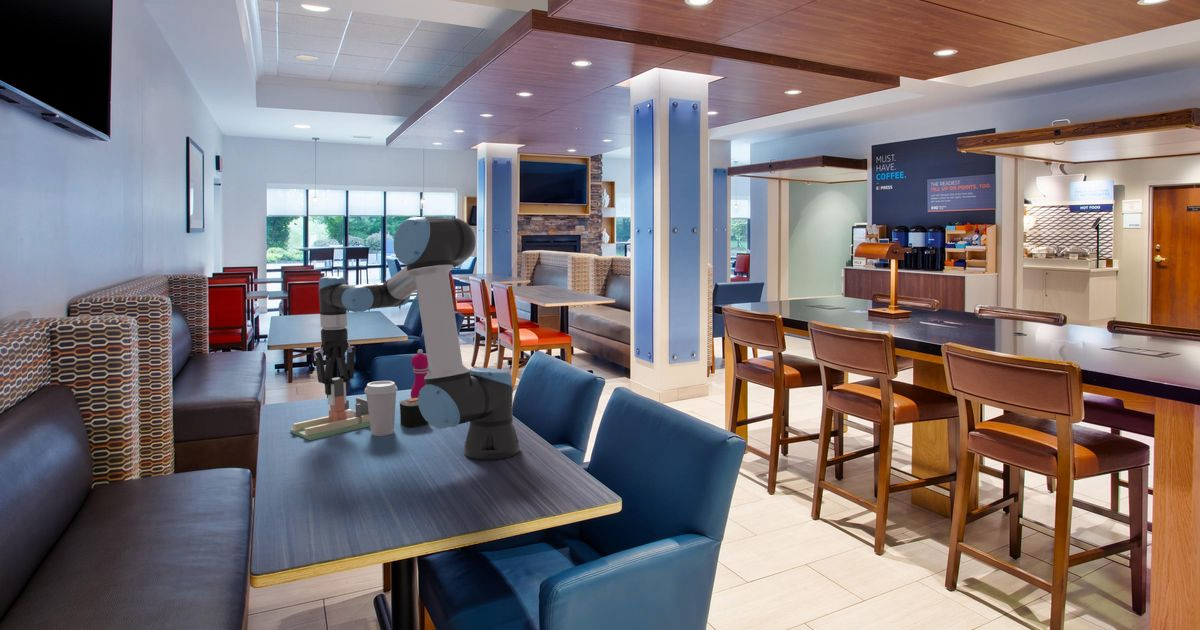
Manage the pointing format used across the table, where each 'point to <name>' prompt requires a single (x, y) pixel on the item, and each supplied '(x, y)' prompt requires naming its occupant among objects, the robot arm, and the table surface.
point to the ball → (350, 413)
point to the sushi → (411, 414)
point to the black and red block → (337, 401)
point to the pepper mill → (419, 372)
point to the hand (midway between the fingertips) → (337, 403)
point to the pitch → (334, 423)
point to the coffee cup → (381, 406)
